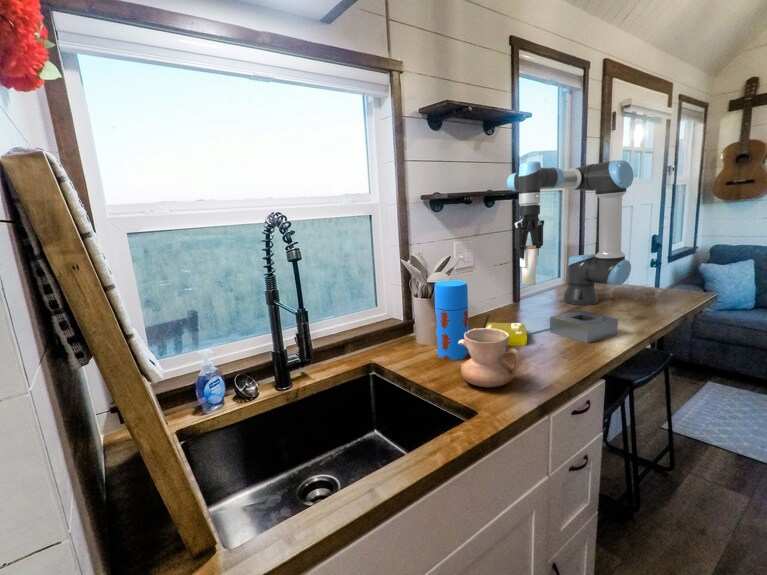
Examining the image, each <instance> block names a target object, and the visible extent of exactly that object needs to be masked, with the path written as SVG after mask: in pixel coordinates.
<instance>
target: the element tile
mask: <svg viewBox="0 0 767 575" xmlns="http://www.w3.org/2000/svg"><path fill="white" fill-rule="evenodd" d="M485 328H492V329H499V330H502V331H505V332H507V333H508V334H509V340H508V345H507V346H513V347H514V346H519V347H521V346H522V347H524V346H527V344H528V335H527V332H526V327H525V325H524V324H522V323H521V322H487V325H486V327H485Z"/></svg>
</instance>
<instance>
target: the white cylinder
mask: <svg viewBox="0 0 767 575" xmlns="http://www.w3.org/2000/svg"><path fill="white" fill-rule="evenodd" d="M525 250H527V267H522V266H521V285H523V286H534V285H536V282H537V281H536V280H537V279H536V278H537V276H536V275H537V273H536V269H537V265H536V245H532V244H528V245H527V244H526V247H525Z"/></svg>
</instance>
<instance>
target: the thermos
mask: <svg viewBox="0 0 767 575" xmlns="http://www.w3.org/2000/svg"><path fill="white" fill-rule="evenodd" d="M450 280H451V279H450ZM468 289H469V288H468V282H467V281H464V280H459V279H457V280H455V279H454V280H453V279H452V280H451V281H448V280H441V282H440V281H437V282H434V309H435V334H436V335H435V336H436V337H435V338H436V341H435V342H436V350H437V351H436V352H437V356H438V357H439V358H440V357H441V359H443V358H444V359H443V360H447V359H449V360H448V361H459V360H458V359H460V360H463V358H464V359H466V358H467V357H468V356H469V351H468V348H466V347H465V346H464V345H460V344H458V342H459V340H465V339H464V334H465V333H466V332H468V331H469V306H468V305H469V295H468V293H469V291H468Z"/></svg>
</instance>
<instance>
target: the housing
mask: <svg viewBox="0 0 767 575" xmlns="http://www.w3.org/2000/svg"><path fill="white" fill-rule="evenodd" d="M618 323H619V319H618V318H616V317H611V316H606V315H602V314H597V313H594V312H589V311H584V310H580V309H579V310H575V311H574V310H573V311H569V312H564V313H561V314H557V315H553V316H550V317H549V327H550V330H549V332H550V333H552V334H555V335H559V336H562V337H566V338H568V339H571V340H574V341H577V342H582V343H584V344H590V343H593V342H597V341H600V340H603V338H604V339H606V337H607V338H610V336H611V337H614V336H617V335H618V328H619V327H618V325H619V324H618ZM613 335H614V336H613Z"/></svg>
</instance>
